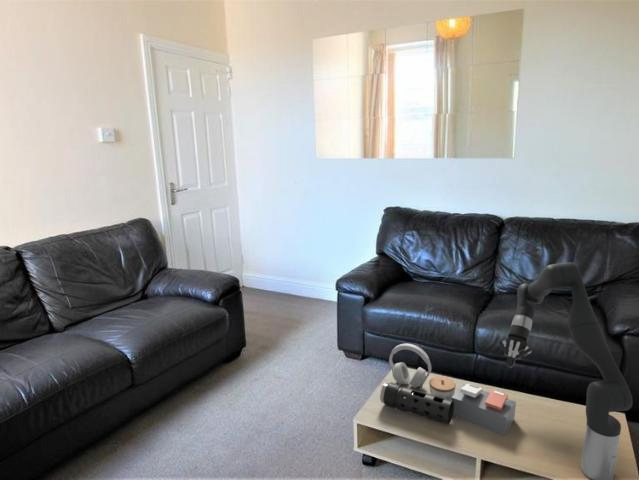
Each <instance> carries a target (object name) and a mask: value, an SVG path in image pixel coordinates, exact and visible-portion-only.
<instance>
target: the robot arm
mask: <svg viewBox="0 0 639 480" xmlns="http://www.w3.org/2000/svg"><path fill="white" fill-rule="evenodd" d="M562 289H570V291H571V294H572V306H571V309H570V311H569V312H570V313H569V316H568V321H567V327H568V331H569V333H570V335H571V339H572V341H573V343H574V344H575V346H576V347H577V348H578V350H579V351H580V352H581V353H583V355H584V356H586V358H588V359H589V360H590V361H591V362H592V363H593V364H594V365H595V366H596V368H597V370H599V372H600V374H601V376H602V378H603V380H601V381H600V380H599V381H591V382H590V384H589V385H587V386H588V387H587V390H586V402H585V416H586V423H585V425H586V426H585V431H584V438H583V439H584V440H583V446H582V452H581V461H580V470H581V472H582V473H583V475H585V476H586V477H587V478H589V479H590V480H614V476H615V471H616V465H617V458H618V453H619V452H618V451H619V444H620V438H621V430H622V425H621V422H620V421H619V420H618V419H617V418H616V417H614V416H613V415H611V414H610V413H614V412H616V413H617V412H623V411H624V412H625V411H629V410H631V408H632V407H633V401H634V400H633V396H632V393H631V390H630V388H629V385H628V384H627V382H626V380H625V378H624V376H623V374H622V373H621V371H620V369H619V367H618V365H617V364H616V363H617V362H616V361H615V359H614V356H613V355H612V353H611V350H610V348H609V345H608V342H607V341H606V338H605V334H604V332H603V329H602V328H601V325H600V323H599V320H598V318H597V316H596V314H595V312H594V310H593V307H592V304H591V302H590V299H589V296H588V294H587V290H586V286H585V283H584V280H583V277H582V274H581V272H580V269H579V267H578V265H577V264H576V263H574V262H571V261H569V262H568V261H567V262H560V263H552V264H549V265H547V266H545V268H544V269H543V270H542V271H541V273H540V274H539V275H538V278H537V279H536V280H534V281H532V282H531V283H530V284H529V283H522V284H520V285H519V286H518V288H517V291H516V292H517V293H516V294H517V295H516V296H517V297H516V298H517V307H516V311H515V314H514V317H513V319H512V322H511V325H510V328H509V331H508V335H507V336H506V338H505V339H504V340H499V341H498V343H499V345H500V347H501V350H502V351H503V354H504V356H506V357H507V358H506V361H505V364H506V366H507V367H508V368H509V369H512V368H513V367H515V363H516V361H517V360H519V361H522V359H524V358H526V357H527V356H529V355H530V354H531V353H533V352H532V350H531V348H530V347H529V345H528V340H529V338H530V334H531V331H532V326H533V321H534V317H535V314H536V309H535V307H534V306H532V304H534V305H539V304H540V305H541V304H542V302H543V301H544V299H545V297H546V296H548V295H549V294H550V293H552V290H562ZM529 303H530V304H531V305H530V304H529ZM506 345H507V346H506ZM506 347H507V348H508V351H507V348H506Z"/></svg>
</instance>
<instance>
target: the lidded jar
mask: <svg viewBox="0 0 639 480" xmlns="http://www.w3.org/2000/svg"><path fill="white" fill-rule="evenodd" d="M456 385H457V384H456V382H455V381H454V380H453V379H452V378H450V377H448V376H444V375H441V376H440V375H438V376H433V377H432V378H430V380H429V392H430V393H429V394H430V395H434V396H437V397H441V398H444V399H448V400H451V401H452V396H453V395H454V394H455V393H456Z"/></svg>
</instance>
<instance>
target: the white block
mask: <svg viewBox="0 0 639 480" xmlns="http://www.w3.org/2000/svg"><path fill="white" fill-rule="evenodd" d="M482 390H483V388H482V387H480V386H477V385H473V384H472V383H465V386H464V387H462V388H461V390H460V393H463V394H466V395H469V396H472V397H474V398H475V397H477V396H478V395H479V394H480V393H482Z"/></svg>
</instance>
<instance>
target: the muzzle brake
mask: <svg viewBox="0 0 639 480" xmlns="http://www.w3.org/2000/svg"><path fill="white" fill-rule="evenodd" d="M379 395H380V396H379V397H380V398H379V400H380V402H381V403H383V405H385V406H386V407H389V408H392V409H397V410H399V411H400V412H401V411H402V412H407V413H410V414H413V415H416V416H419V417H422V418H426V419H429V420H431V421H435V422H438V423H441V424H444V425H450V424H451V422H452V420H453V417H454V416H453V411H454V402H453V401H452V399H451V400H448V399H444V398H441V397H437V396H434V395H431V393H426V392H423V391H419V390H416V389H412V388H409V387H406V386H401V384H399V383H396V382H395V383H394V382H385V383H384V384H382V387H381V389H380V394H379Z"/></svg>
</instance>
